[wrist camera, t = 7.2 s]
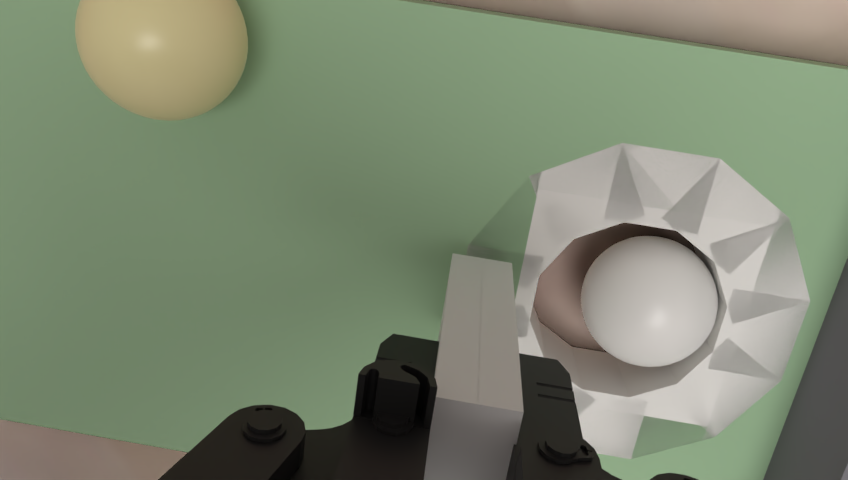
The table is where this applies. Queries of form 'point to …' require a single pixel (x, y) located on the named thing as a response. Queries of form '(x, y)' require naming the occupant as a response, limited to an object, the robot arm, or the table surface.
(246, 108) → the green
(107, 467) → the table surface
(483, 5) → the table surface
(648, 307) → the ball
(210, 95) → the yellow ball
